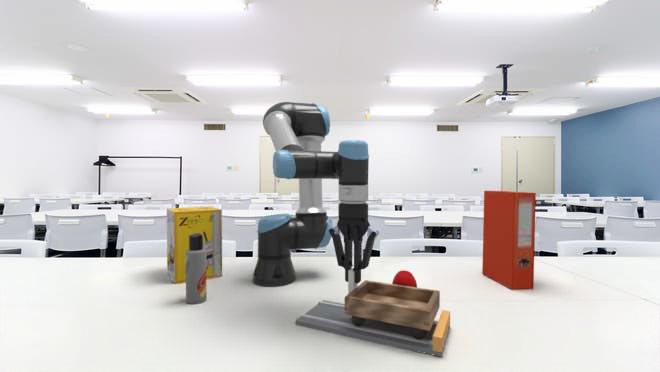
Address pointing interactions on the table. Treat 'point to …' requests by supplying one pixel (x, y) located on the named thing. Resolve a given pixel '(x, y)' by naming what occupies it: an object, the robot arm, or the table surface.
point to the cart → (393, 305)
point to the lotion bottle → (196, 270)
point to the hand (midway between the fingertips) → (352, 294)
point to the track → (376, 328)
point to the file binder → (509, 238)
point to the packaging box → (178, 232)
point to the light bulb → (404, 279)
